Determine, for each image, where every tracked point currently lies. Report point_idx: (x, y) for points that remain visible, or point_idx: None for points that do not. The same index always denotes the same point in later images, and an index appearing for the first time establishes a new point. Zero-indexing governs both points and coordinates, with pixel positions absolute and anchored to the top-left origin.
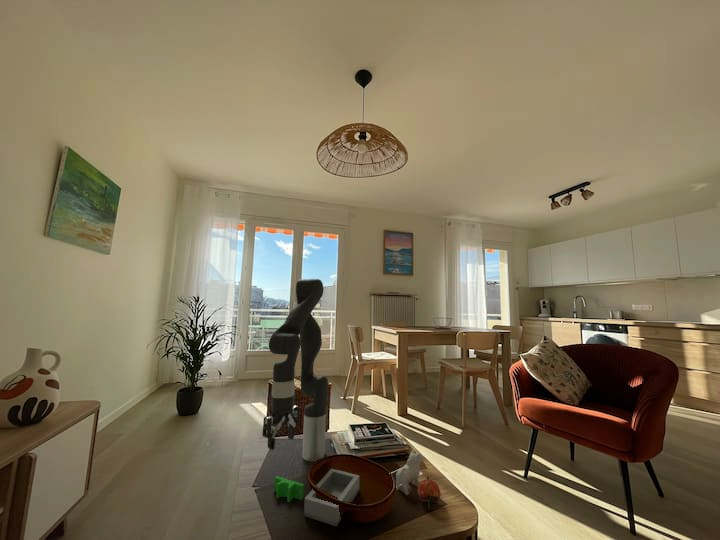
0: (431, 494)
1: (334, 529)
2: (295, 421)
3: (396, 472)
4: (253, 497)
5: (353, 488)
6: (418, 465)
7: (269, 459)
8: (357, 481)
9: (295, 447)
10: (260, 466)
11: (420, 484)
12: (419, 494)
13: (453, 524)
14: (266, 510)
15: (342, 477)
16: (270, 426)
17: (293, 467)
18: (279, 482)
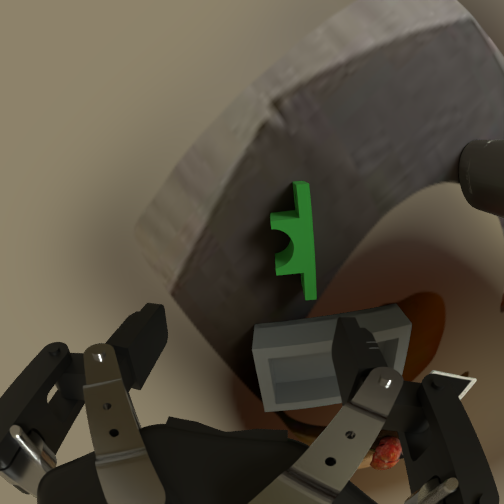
0: (371, 465)
1: (257, 386)
2: (399, 430)
3: (455, 381)
4: (233, 150)
5: None
6: None
7: (405, 52)
8: None
9: (485, 95)
10: (363, 49)
11: (385, 458)
12: (377, 450)
13: None
14: (214, 230)
15: (392, 355)
16: (50, 447)
17: (418, 151)
18: (282, 222)
